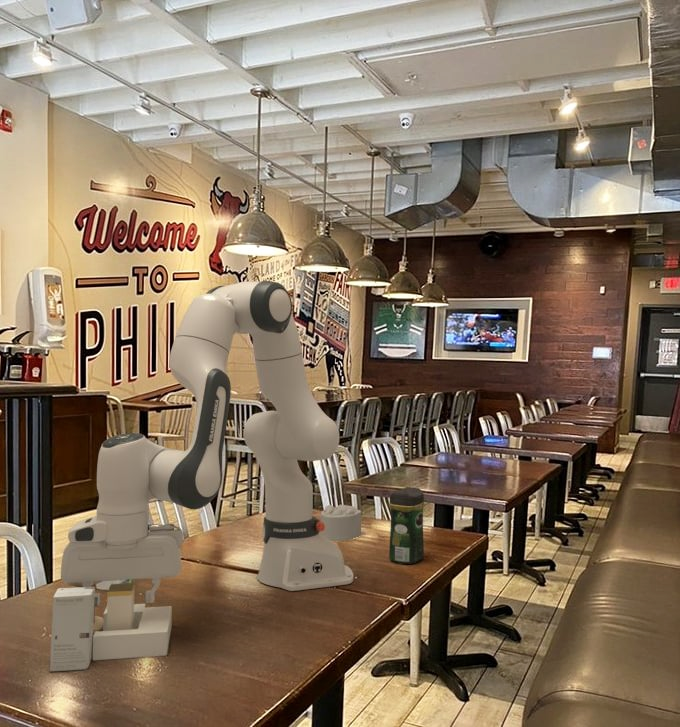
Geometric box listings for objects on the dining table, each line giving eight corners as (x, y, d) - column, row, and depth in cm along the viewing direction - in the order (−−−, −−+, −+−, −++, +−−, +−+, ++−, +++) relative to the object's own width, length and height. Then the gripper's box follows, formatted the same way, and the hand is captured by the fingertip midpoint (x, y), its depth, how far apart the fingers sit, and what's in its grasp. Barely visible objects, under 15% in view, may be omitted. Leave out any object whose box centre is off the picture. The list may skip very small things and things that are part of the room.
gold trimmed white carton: (133, 638, 116) (134, 583, 116) (130, 648, 112) (131, 590, 112) (109, 639, 115) (111, 584, 115) (106, 649, 111) (107, 592, 111)
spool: (106, 619, 124) (107, 568, 124) (100, 634, 117) (101, 580, 117) (68, 622, 122) (69, 569, 122) (59, 637, 115) (60, 581, 116)
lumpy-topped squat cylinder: (365, 534, 190) (365, 505, 190) (340, 544, 180) (341, 513, 180) (337, 529, 196) (337, 501, 196) (311, 538, 186) (311, 508, 186)
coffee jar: (400, 552, 172) (401, 483, 172) (427, 557, 168) (428, 487, 168) (383, 561, 164) (385, 489, 164) (412, 567, 160) (413, 492, 160)
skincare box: (49, 673, 102) (50, 597, 102) (54, 660, 106) (56, 587, 107) (89, 669, 104) (91, 594, 104) (94, 657, 108) (95, 585, 108)
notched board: (172, 623, 123) (172, 602, 123) (166, 655, 109) (167, 631, 109) (106, 626, 120) (106, 605, 120) (92, 660, 107) (93, 636, 107)
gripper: (183, 519, 119) (183, 593, 119) (66, 523, 115) (66, 600, 115) (182, 527, 112) (181, 606, 112) (58, 533, 108) (58, 614, 109)
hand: (122, 603), depth 114 cm, fingers open, 8 cm apart
